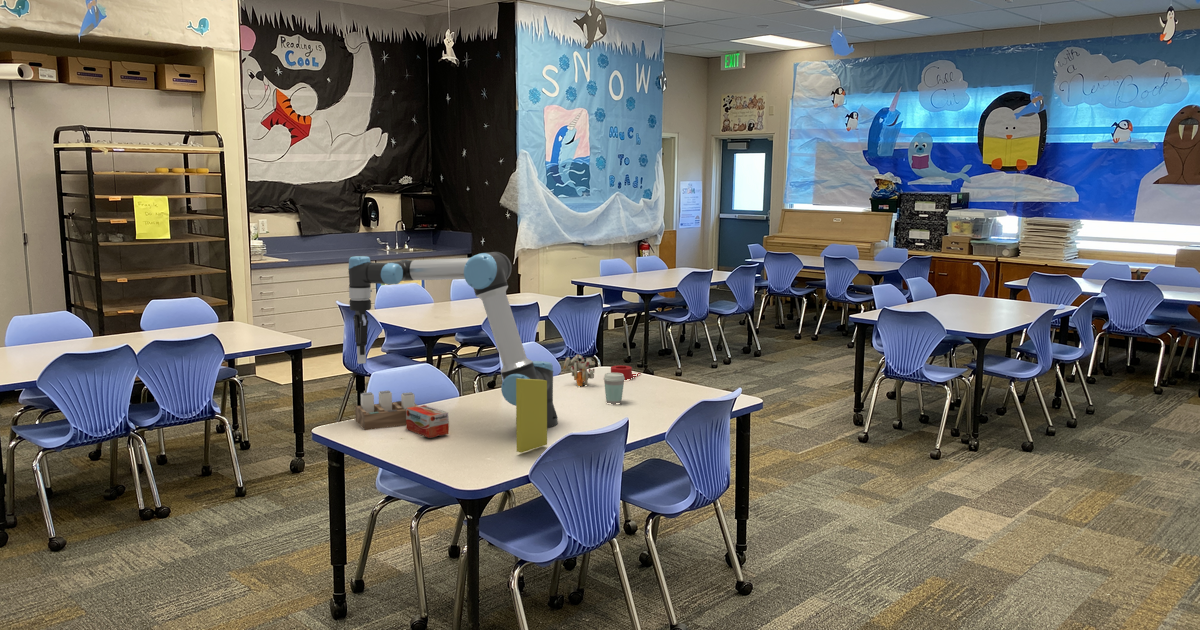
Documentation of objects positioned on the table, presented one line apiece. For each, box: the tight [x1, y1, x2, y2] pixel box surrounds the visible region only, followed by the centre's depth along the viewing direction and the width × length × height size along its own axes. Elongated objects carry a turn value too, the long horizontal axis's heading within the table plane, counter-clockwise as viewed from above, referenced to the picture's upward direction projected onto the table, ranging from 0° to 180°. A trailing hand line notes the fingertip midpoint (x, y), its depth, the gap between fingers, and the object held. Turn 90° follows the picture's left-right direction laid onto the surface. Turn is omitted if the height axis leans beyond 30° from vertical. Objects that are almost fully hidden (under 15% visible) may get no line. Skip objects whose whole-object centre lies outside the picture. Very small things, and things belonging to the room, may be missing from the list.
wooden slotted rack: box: [354, 400, 419, 431], centre depth 310 cm, size 14×20×6 cm
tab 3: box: [400, 392, 416, 409], centre depth 310 cm, size 3×4×7 cm
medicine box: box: [405, 404, 450, 439], centre depth 298 cm, size 15×8×8 cm, turn 45°
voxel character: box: [562, 354, 596, 387], centre depth 366 cm, size 11×10×15 cm
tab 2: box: [378, 389, 393, 411], centre depth 312 cm, size 3×4×7 cm
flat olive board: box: [515, 378, 548, 454], centre depth 279 cm, size 12×2×24 cm, turn 141°
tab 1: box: [360, 391, 375, 413], centre depth 309 cm, size 3×4×7 cm
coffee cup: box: [603, 372, 625, 404], centre depth 340 cm, size 8×8×12 cm
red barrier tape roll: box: [610, 364, 642, 380], centre depth 386 cm, size 18×9×7 cm, turn 140°
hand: (361, 363), depth 314 cm, fingers closed
